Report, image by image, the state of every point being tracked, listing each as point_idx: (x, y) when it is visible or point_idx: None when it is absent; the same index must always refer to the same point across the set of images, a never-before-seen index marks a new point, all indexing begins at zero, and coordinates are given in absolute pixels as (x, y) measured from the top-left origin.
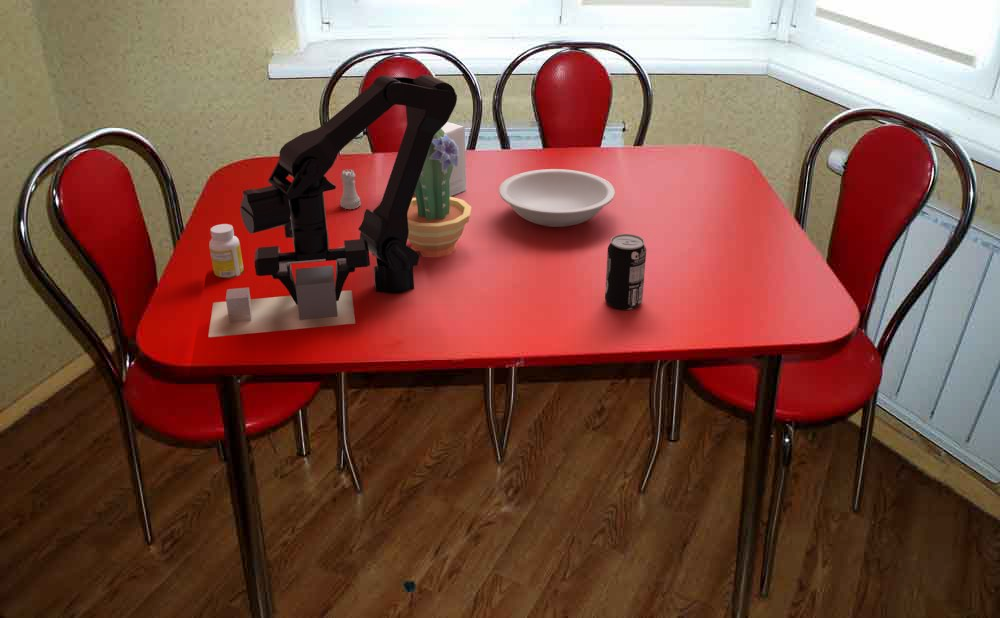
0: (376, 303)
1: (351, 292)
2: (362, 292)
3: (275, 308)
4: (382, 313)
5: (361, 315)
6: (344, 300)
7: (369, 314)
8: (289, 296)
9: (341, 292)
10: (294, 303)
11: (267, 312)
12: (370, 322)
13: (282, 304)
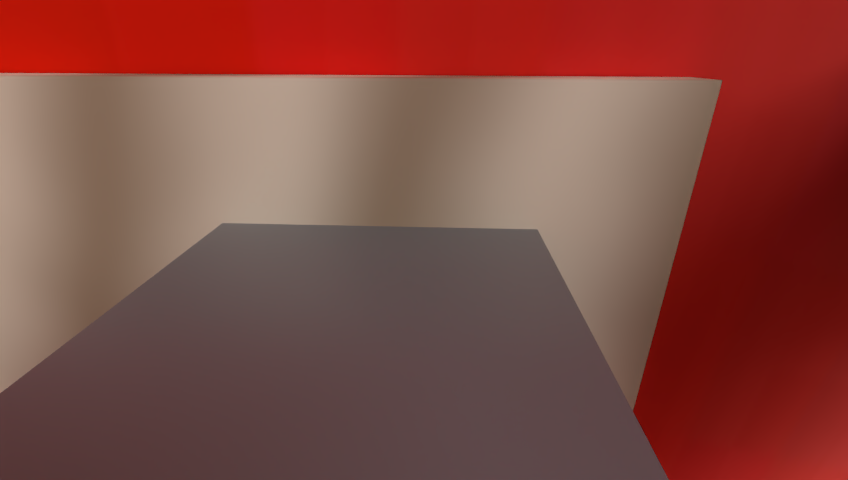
0: (831, 262)
1: (706, 133)
2: (808, 33)
3: (55, 279)
4: (804, 393)
5: (662, 388)
6: (601, 269)
7: (717, 387)
8: (104, 91)
9: (610, 113)
10: (185, 235)
11: (18, 320)
12: (688, 463)
13: (89, 231)
